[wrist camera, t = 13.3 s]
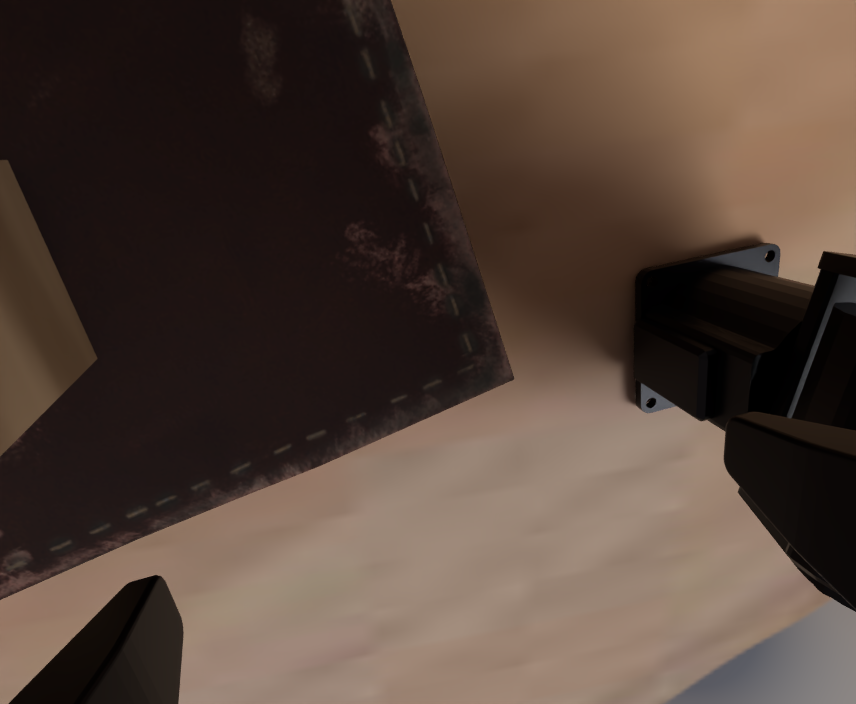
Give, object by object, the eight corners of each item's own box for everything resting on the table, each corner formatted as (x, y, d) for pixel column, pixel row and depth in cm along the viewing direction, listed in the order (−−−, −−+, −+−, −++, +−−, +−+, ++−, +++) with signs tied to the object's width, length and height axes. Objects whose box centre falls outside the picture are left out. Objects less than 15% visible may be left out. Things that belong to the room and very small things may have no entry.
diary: (-693, 96, 13) (-1258, 54, 8) (277, -217, 15) (266, -390, 10) (-129, 616, 20) (-260, 751, 15) (476, 353, 22) (523, 402, 17)
